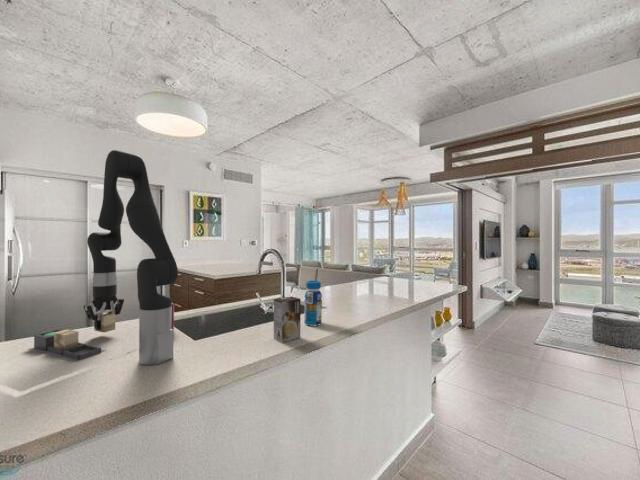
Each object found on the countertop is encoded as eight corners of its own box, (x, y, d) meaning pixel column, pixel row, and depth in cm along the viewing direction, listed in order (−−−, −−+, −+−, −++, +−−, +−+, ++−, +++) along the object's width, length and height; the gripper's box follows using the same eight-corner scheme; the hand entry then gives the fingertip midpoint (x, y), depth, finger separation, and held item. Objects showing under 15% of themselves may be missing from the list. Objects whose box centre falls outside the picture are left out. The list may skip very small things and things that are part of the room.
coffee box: (291, 333, 122) (292, 296, 122) (300, 338, 117) (301, 298, 117) (272, 338, 116) (273, 298, 116) (281, 343, 111) (282, 301, 111)
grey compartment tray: (106, 353, 99) (106, 337, 99) (72, 365, 89) (72, 347, 89) (62, 342, 108) (62, 327, 108) (27, 352, 99) (27, 336, 99)
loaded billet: (78, 349, 100) (78, 331, 100) (64, 353, 96) (64, 335, 96) (67, 346, 102) (67, 329, 102) (53, 350, 98) (53, 332, 98)
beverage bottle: (301, 322, 138) (301, 280, 138) (317, 320, 142) (318, 279, 141) (308, 327, 130) (308, 283, 130) (324, 325, 134) (325, 282, 134)
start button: (63, 341, 103) (63, 332, 103) (48, 345, 99) (48, 336, 99) (56, 339, 105) (56, 331, 105) (41, 343, 101) (41, 334, 101)
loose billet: (115, 329, 113) (115, 314, 113) (104, 332, 109) (104, 316, 109) (105, 327, 115) (105, 312, 115) (94, 330, 111) (94, 315, 111)
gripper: (90, 287, 104) (90, 335, 104) (129, 281, 117) (129, 324, 117) (77, 286, 107) (77, 332, 107) (117, 280, 120) (117, 322, 120)
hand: (104, 327), depth 112 cm, fingers closed on loose billet, 4 cm apart
